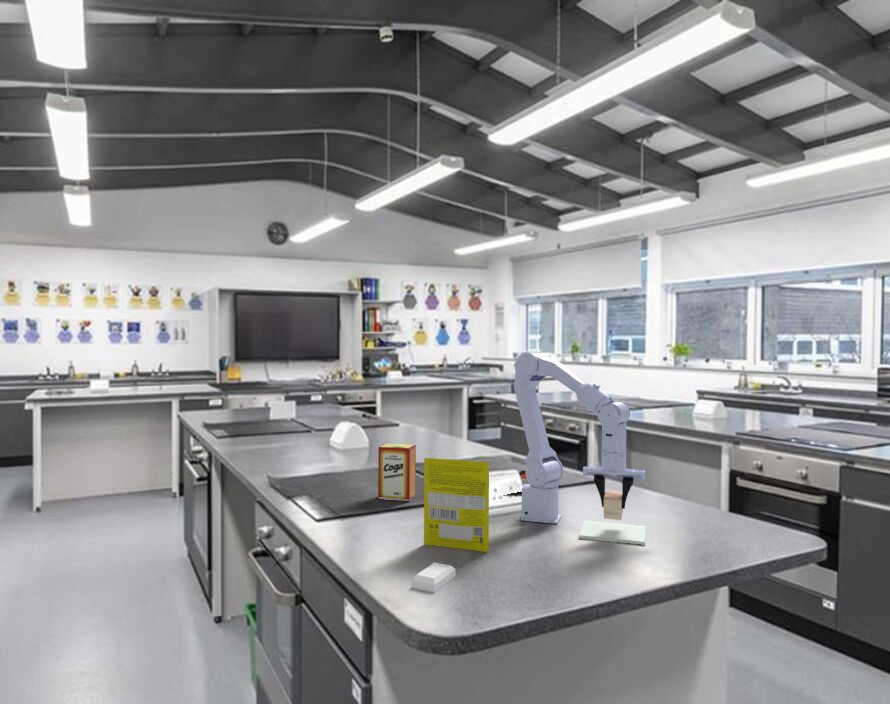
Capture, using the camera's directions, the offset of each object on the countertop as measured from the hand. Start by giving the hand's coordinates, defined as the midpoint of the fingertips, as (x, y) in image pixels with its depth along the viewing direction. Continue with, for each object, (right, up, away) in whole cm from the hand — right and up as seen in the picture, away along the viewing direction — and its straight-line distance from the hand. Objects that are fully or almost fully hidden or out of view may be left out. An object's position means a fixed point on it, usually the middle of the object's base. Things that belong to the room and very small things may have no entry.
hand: (613, 506), depth 152 cm
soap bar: (-43, -8, -31) cm, 54 cm away
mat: (0, -7, 0) cm, 7 cm away
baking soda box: (-55, -6, +33) cm, 65 cm away
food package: (-39, -7, -11) cm, 41 cm away
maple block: (0, -2, 0) cm, 2 cm away
